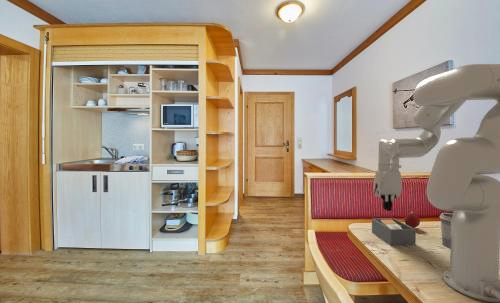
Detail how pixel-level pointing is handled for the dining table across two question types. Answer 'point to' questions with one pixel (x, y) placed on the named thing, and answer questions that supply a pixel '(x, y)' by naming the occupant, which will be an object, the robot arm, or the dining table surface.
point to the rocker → (390, 224)
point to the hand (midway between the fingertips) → (387, 209)
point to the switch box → (394, 233)
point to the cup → (446, 228)
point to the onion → (411, 220)
